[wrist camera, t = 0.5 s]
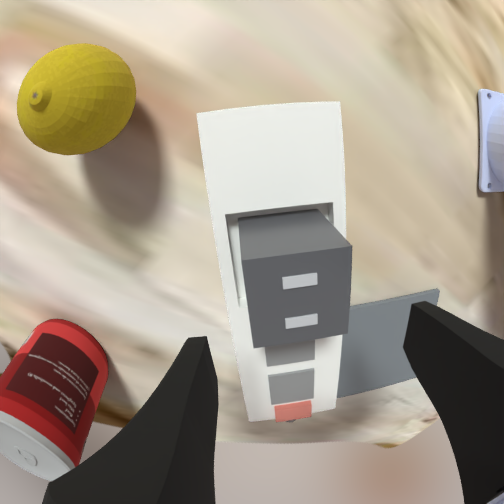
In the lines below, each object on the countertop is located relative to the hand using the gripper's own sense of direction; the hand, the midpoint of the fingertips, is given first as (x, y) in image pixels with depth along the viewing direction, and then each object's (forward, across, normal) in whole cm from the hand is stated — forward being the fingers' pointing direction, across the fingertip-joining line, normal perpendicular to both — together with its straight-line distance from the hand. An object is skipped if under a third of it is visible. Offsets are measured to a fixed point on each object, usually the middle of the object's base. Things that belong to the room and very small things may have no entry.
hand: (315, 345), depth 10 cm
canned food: (+11, +18, +8) cm, 22 cm away
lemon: (+11, +9, -10) cm, 17 cm away
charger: (+8, 0, 0) cm, 9 cm away
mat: (+10, -8, +11) cm, 17 cm away
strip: (+10, 0, +5) cm, 11 cm away
